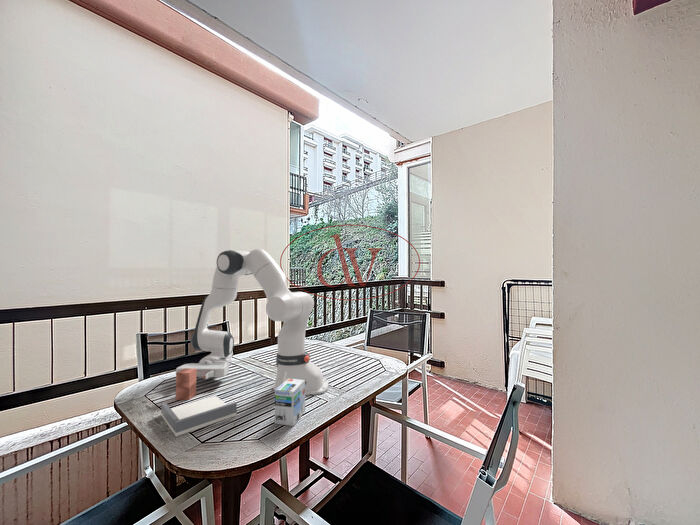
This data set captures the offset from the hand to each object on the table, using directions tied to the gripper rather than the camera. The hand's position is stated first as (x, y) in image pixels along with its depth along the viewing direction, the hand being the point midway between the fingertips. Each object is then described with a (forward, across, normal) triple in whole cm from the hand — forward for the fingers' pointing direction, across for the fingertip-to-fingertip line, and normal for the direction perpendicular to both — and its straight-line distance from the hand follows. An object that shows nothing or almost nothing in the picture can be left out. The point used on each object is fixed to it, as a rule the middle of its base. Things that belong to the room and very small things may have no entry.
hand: (192, 377), depth 118 cm
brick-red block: (+4, 0, +6) cm, 7 cm away
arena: (+18, +12, +6) cm, 23 cm away
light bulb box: (+19, +43, +6) cm, 48 cm away
